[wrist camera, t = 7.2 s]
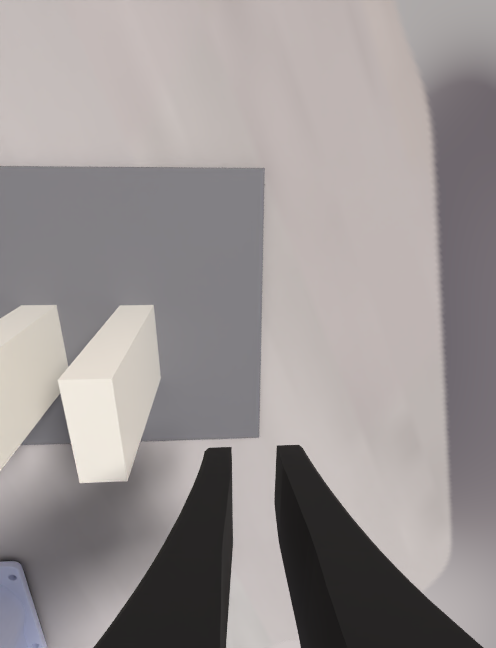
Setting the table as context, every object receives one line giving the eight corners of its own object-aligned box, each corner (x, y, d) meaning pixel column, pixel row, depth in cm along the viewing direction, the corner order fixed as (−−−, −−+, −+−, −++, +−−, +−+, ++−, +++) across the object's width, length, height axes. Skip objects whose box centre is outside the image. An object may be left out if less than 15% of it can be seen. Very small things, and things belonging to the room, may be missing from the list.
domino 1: (70, 379, 19) (-11, 484, 12) (38, 380, 19) (-61, 486, 12) (56, 304, 17) (-45, 380, 11) (21, 305, 17) (-101, 381, 11)
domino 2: (160, 378, 19) (127, 481, 13) (129, 379, 19) (79, 483, 13) (153, 304, 18) (111, 378, 11) (119, 305, 18) (57, 379, 11)
